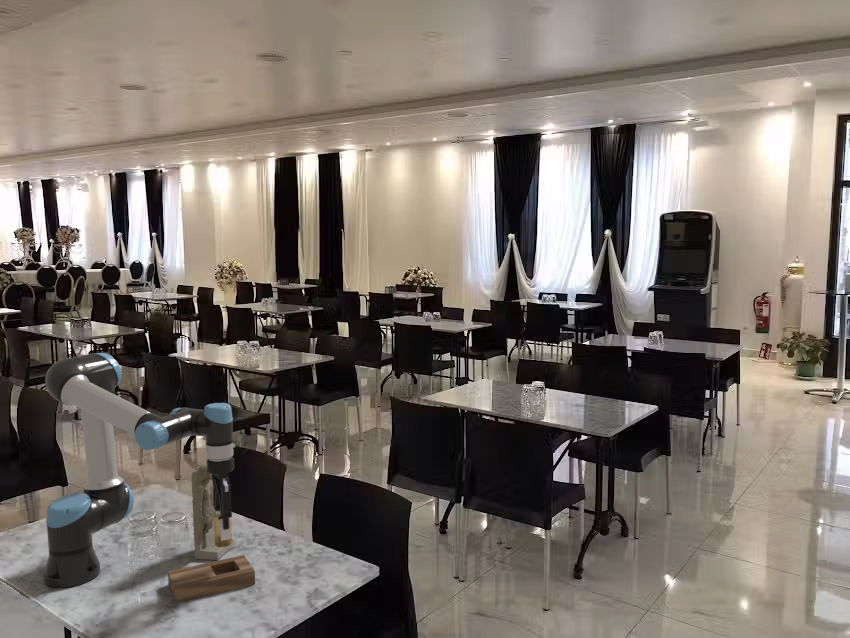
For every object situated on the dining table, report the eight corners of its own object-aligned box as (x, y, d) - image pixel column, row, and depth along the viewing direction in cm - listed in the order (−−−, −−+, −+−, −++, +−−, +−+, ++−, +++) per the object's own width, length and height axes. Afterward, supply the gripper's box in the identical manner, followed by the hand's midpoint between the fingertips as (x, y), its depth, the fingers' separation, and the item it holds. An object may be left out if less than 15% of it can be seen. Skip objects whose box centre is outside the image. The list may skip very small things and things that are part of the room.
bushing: (213, 542, 205) (211, 515, 204) (230, 538, 207) (229, 512, 206) (216, 548, 200) (215, 521, 199) (234, 544, 203) (233, 517, 202)
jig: (168, 584, 203) (167, 571, 203) (244, 567, 214) (243, 554, 213) (175, 602, 193) (175, 589, 192) (255, 583, 203) (254, 570, 203)
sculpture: (213, 564, 216) (209, 469, 213) (189, 562, 217) (185, 468, 214) (235, 544, 230) (232, 455, 227) (213, 542, 232) (209, 454, 229)
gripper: (241, 463, 195) (244, 544, 197) (226, 447, 211) (229, 522, 213) (213, 468, 191) (217, 550, 194) (200, 451, 207) (203, 527, 209)
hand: (223, 535), depth 203 cm, fingers closed on bushing, 5 cm apart
